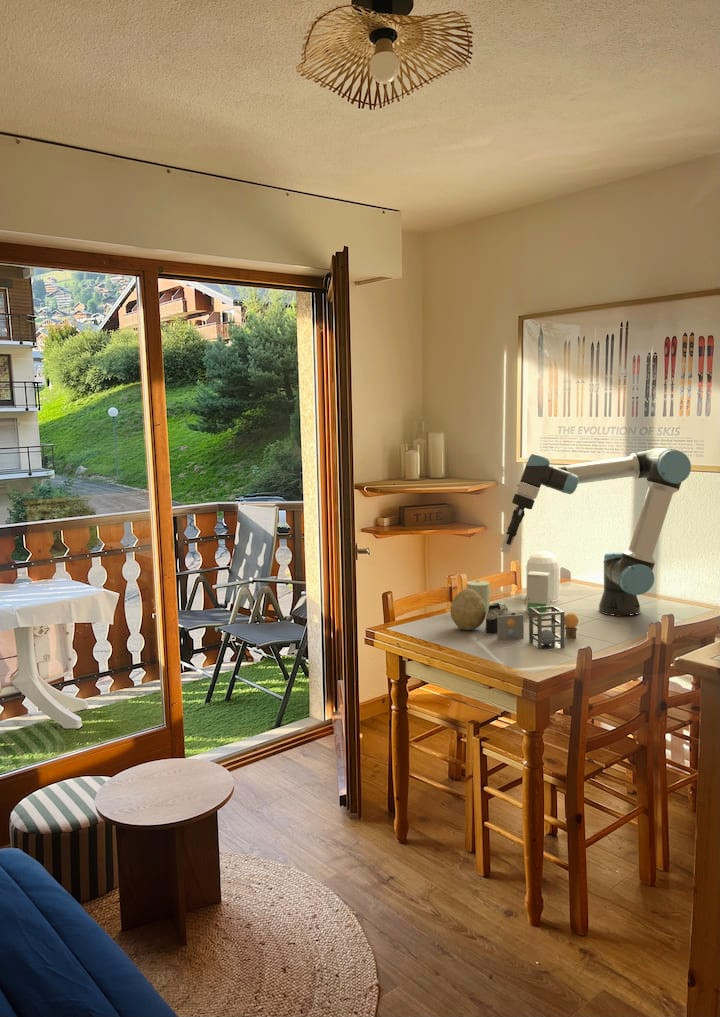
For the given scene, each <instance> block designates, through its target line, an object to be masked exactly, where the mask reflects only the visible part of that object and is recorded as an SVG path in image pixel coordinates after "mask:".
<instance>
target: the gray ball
mask: <svg viewBox="0 0 720 1017" xmlns="http://www.w3.org/2000/svg"><path fill="white" fill-rule="evenodd" d="M547 639H554V634H553V633H552V632H551V630H548V629H542V640H547ZM552 643H553V642H548V643H542V644H544V645H550V644H552Z"/></svg>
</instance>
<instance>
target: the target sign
mask: <svg viewBox="0 0 720 1017" xmlns="http://www.w3.org/2000/svg"><path fill="white" fill-rule="evenodd" d="M524 616H525V615H524V614H521V613H520V614H516V615H505V616H497V636H496V639H497V640H498V641H512V640H513V641H514V640H525V637H524V636H525V635H524V633H525V632H524V631H525V630H524V623H525V622H524Z"/></svg>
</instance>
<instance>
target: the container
mask: <svg viewBox="0 0 720 1017" xmlns="http://www.w3.org/2000/svg"><path fill="white" fill-rule="evenodd" d="M525 571H526V575H527V574H528V573H529V572H530V571H535V572H546V573H550V601H553V600H557V599H558V598H559V599H560V564H559V561H558V559H557V557H556V556H555V555H554V554H552V553H551V552H549V551H545V550H544V551H536V552H535V553H533V554H531V555H530V557H529V558H528V560H527V564H526V570H525Z"/></svg>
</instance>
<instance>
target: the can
mask: <svg viewBox="0 0 720 1017" xmlns="http://www.w3.org/2000/svg"><path fill="white" fill-rule="evenodd" d="M490 583H491V582H490V581H487V580H469V581H467V582H466V589H472V590H474V591H476V592H477V593H478V594H479V595H480V596H481V598H482V599H483V601H484V603H485V607H486V615H487V613H488V611H489V606H490V605H491V603H490V602H491V596H490V595H491V591H490V590H491V587H490V586H491V584H490Z"/></svg>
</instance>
